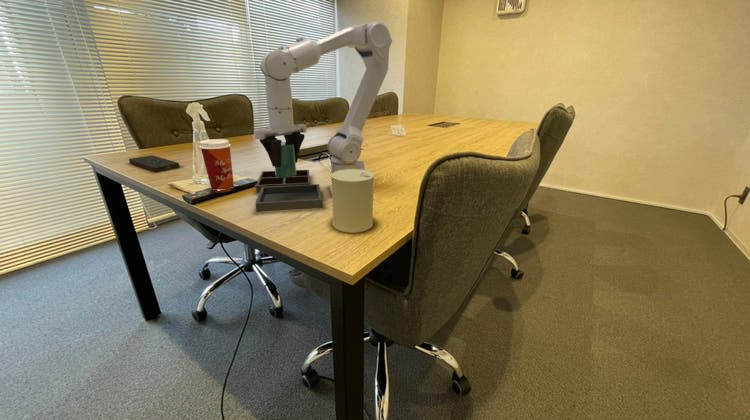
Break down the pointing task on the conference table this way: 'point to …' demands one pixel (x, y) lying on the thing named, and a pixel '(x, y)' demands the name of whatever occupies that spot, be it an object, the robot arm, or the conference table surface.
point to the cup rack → (282, 179)
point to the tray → (289, 197)
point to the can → (352, 200)
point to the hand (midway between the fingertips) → (285, 164)
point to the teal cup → (286, 161)
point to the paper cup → (218, 163)
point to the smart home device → (154, 163)
